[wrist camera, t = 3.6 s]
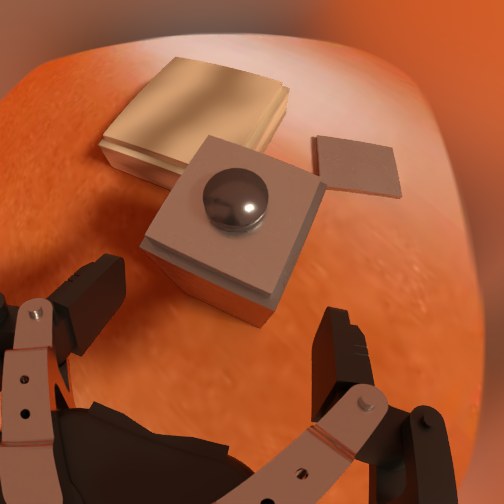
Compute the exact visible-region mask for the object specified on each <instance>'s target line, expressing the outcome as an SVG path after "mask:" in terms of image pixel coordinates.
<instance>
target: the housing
mask: <svg viewBox="0 0 504 504" xmlns="http://www.w3.org/2000/svg"><path fill="white" fill-rule="evenodd" d="M320 180H321V177H319V176H317V175H315V174H312V173H310V172H307V171H305V170H303V169H300V168H298V167H295V166H293V165H290V164H288V163H285V162H283V161H280V160H278V159H275V158H273V157H270V156H267V155H265V154H262V153H260V152H257V151H254V150H251V149H249V148H246V147H243V146H240V145H238V144H235V143H232V142H229V141H226V140H223V139H220V138H217V137H214V136H211V135H208V136H207V138H206V139H205V141H204V142H203V144H202V145H201V146H200V148H199V149H198V151H197V152H196V154H195V155H194V157H193V158H192V160H191V161H190V163H189V164H188V165H187V167H186V169H185V170H184V172H183V173H182V175H181V176H180V178H179V179H178V181H177V182H176V184H175V185H174V187H173V189H172V190H171V192H170V193H169V195H168V196H167V198H166V200H165V201H164V203H163V205H162V206H161V208H160V209H159V211H158V213H157V214H156V216H155V218H154V219H153V221H152V223H151V225H150V226H149V228H148V230H147V231H146V233H145V237H144V239H143V241H142V242H141V244H140V246H139V247H140V248H141V250H142V251H143V252H144V253H145V254H146V255H147V256H148V257H149V258H150V259H151V260H152V261H153V262H154V263H155V264H156V265H157V266H158V267H159V268H160V269H161V270H162V271H163V272H164V273H165V274H166V275H167V276H168V277H169V278H170V279H171V280H172V281H173V282H174V283H175V284H176V285H177V286H178V287H179V288H180V289H181V290H182V291H183V292H184V293H186V294H188V295H190V296H192V297H194V298H196V299H198V300H200V301H203V302H205V303H207V304H209V305H211V306H213V307H215V308H217V309H219V310H221V311H223V312H226V313H228V314H230V315H232V316H234V317H236V318H238V319H241V320H243V321H245V322H247V323H249V324H252V325H254V326H256V327H258V328H260V329H261V327H262V326H263V325H264V324H265V323H266V321H267V320H268V319H269V318H270V317H271V315H272V314H273V313H274V312H275V310H276V308H277V305H278V303H279V301H280V299H281V296H282V294H283V292H284V290H285V287H286V285H287V283H288V280H289V278H290V276H291V273H292V271H293V269H294V266H295V264H296V262H297V259H298V257H299V255H300V252H301V250H302V247H303V245H304V243H305V240H306V238H307V235H308V233H309V230H310V228H311V226H312V223H313V221H314V218H315V216H316V213H317V211H318V208H319V206H320V203H321V201H322V198H323V196H324V193H325V190H326V188H327V184H325V183H322V182H320Z"/></svg>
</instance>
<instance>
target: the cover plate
mask: <svg viewBox="0 0 504 504" xmlns="http://www.w3.org/2000/svg"><path fill="white" fill-rule="evenodd" d="M316 145H317V160H318V176H319V177H321V180H320V182H322V183H325V184H327V188H326V190H335V191H343V192H352V193H360V194H368V195H375V196H382V197H389V198H396V199H400V198H401V197H402V193H401V187H400V182H399V177H398V172H397V167H396V162H395V158H394V153H393V149H392V148H391V147H386V146H381V145H375V144H370V143H365V142H359V141H353V140H347V139H340V138H333V137H326V136H319V135H317V137H316Z"/></svg>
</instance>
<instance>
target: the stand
mask: <svg viewBox="0 0 504 504" xmlns="http://www.w3.org/2000/svg"><path fill="white" fill-rule="evenodd" d="M282 84H283V82H279V81H276V80H273V79H270V78H266V77H263V76H259V75H256V74H252V73H249V72H245V71H241V70H237V69H233V68H229V67H225V66H220V65H216V64H211V63H206V62H201V61H196V60H191V59H185V58H180V57H175V58H174V59H173V60H172V61H170V62H169V63H168V64H167V65H166V66H165V67H164V68H163V69H162V70H161V71H160V72H159V73H158V74H157V75H156V76H155V77H154V78H153V79H152V80H151V81H150V82H149V83H148V84H147V85H146V86H145V87H144V88H143V89H142V90H141V91H140V92H139V93H138V94H137V96H136V97H135V98H134V99H133V100H132V101H131V102H130V103H129V104H128V105H127V107H126V108H125V109H124V110H123V111H122V112H121V113H120V115H119V116H118V117H117V118H116V119H115V120H114V122H113V123H112V124H111V125H110V126H109V128H108V129H107V130H106V131H105V133H104V134H103V136H104V138H103V139H102V140H101V142H100V143H99V144H98V146H99V147H100V149H101V150H102V152H103V154H104V155H105V157H106V158H107V160H108V161H109V163H110V165H111V166H112V167H113V168H115V169H118V170H121V171H123V172H126V173H128V174H131V175H133V176H136V177H138V178H141V179H143V180H146V181H148V182H151V183H153V184H156V185H158V186H161V187H163V188H166V189H168V190H172V189H173V187H174V185H175V184H176V182H177V181H178V179H179V178H180V176H181V175H182V173H183V172H184V170H185V169H186V167H187V165H188V164H189V163H190V161H191V160H192V158H193V157H194V155H195V154H196V152H197V151H198V149H199V148H200V146H201V145H202V144H203V142H204V141H205V139H206V138H207V136H208V135H211V136H214V137H217V138H220V139H223V140H226V141H229V142H232V143H235V144H238V145H240V146H243V147H246V148H249V149H251V150H254V151H257V152H260V153H262V154H263V152H264V150H265V149H266V147H267V145H268V143H269V142H270V140H271V138H272V137H273V135H274V133H275V131H276V130H277V128H278V126H279V124H280V123H281V121H282V119H283V118H284V116H285V114H286V108H287V102H288V96H289V90H290V88H287V87H284V86H282Z"/></svg>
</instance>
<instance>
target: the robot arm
mask: <svg viewBox="0 0 504 504" xmlns="http://www.w3.org/2000/svg"><path fill="white" fill-rule="evenodd" d="M125 295H126V282H125V264H124V259H123V258H121V257H118V256H114V255H110V254H104V255H102V256H101V257H100V258H99V259H98V260H97V261H96V262H92V263H89V264H87V265H85V266H83V267H81V268H80V269H79V270H78V271H76V272H75V273H74V275H72V276H71V277H70V278H69V279H68V281H65V282H64V283H63V284H62V285H61V286H60V287H59V288H58V289H56V290H55V291H54V292H53V293H52V294H51V295H50V296H49V297H48V298H47V299H43V298H34V299H30V300H28V301H26V302H25V303H23V304H22V305H21V306H20V307H17V306H10V305H7V303H6V300H5V297H4V295H3V294H2V293H0V392H1V390H2V408H1V415H2V431H1V432H0V504H315V503H316V502H317V501H318V500H319V499H320V498H321V497H322V496H323V495H324V494H325V493H326V492H327V491H328V490H329V489H330V488H331V486H332V485H333V484H334V483H335V482H336V481H337V480H338V479H339V477H340V476H341V475H342V474H343V473H344V472H345V470H346V469H347V468H348V467H349V466H350V464H351V463H352V462H353V460H354V459H356V460H359V461H362V462H365V463H368V464H369V504H458V497H457V489H456V481H455V475H454V468H453V462H452V456H451V451H450V446H449V441H448V436H447V431H446V427H445V422H444V419H443V417H442V416H441V414H440V413H439V412H438V411H437V410H435V409H434V408H432V407H430V406H425V405H422V406H418V407H416V408H414V410H413V411H412V412H411V413H408V412H405V411H403V410H400V409H397V408H394V407H392V406H390V405H388V401H387V399H386V397H385V395H384V394H383V393H382V392H381V391H380V390H379V389H378V388H376V387H375V385H374V380H373V374H372V369H371V364H370V359H369V356H368V350H367V348H366V346H367V345H366V341H365V336H364V334H363V333H362V332H361V330H360V329H359V327H358V326H356V325H351V324H350V320H349V315H348V311H347V310H343V309H338V308H333V307H327V308H326V310H325V313H324V315H323V318H322V320H321V323H320V325H319V328H318V330H317V333H316V335H315V338H314V341H313V345H312V415H311V422H318V423H317V424H316V425H314V426H310V427H309V428H308V429H306V430H305V431H304V432H303V433H302V434H301V435H300V436H299V437H298V438H297V439H295V440H294V441H293V442H292V443H291V444H290V445H289V446H288V447H286V448H285V449H284V450H283V451H282V452H281V453H279V454H278V455H277V456H276V457H275V458H273V459H272V460H271V461H270V462H269V463H267V464H266V465H265V466H264V467H262V468H261V469H260V470H259V471H257V472H256V473H254V472H253V471H252V470H251V469H250V468H249V467H248V466H246V465H245V464H244V463H242V462H241V461H239V460H237V459H236V458H234V457H232V456H230V455H227V454H228V450H229V446H227V445H222V444H218V443H214V442H210V441H206V440H202V439H198V438H195V437H183V436H171V435H161V434H155V433H152V432H150V431H149V430H147V429H146V428H144V427H143V426H141V425H139V424H138V423H136V422H135V421H133V420H132V419H130V418H129V417H128V416H126V415H125V414H123V413H120V412H118V411H116V410H113V409H111V408H108V407H106V406H104V405H102V404H99V403H97V402H95V401H94V402H93V404H92V405H91V407H90V409H85V408H76V406H75V403H74V398H73V392H72V384H71V376H70V366H69V359H68V356H69V354H70V353H71V352H72V353H74V354H76V355H78V356H81V357H82V355H83V354H84V353H85V351H86V350H87V349H88V347H89V346H90V345H91V343H92V342H93V341H94V339H95V338H96V337H97V336H98V334H99V333H100V332H101V330H102V329H103V328H104V326H105V325H106V324H107V323H108V321H109V320H110V319H111V318H112V316H113V315H114V314H115V312H116V311H117V310H118V309H119V307H120V306H121V305H122V303H123V301H124V299H125Z"/></svg>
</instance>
